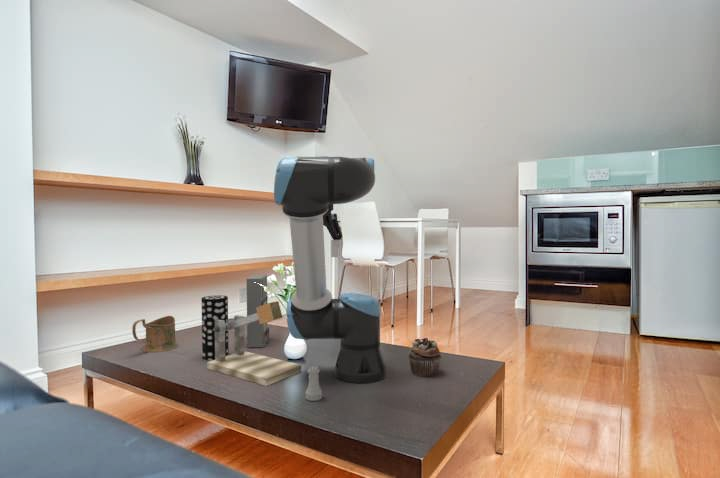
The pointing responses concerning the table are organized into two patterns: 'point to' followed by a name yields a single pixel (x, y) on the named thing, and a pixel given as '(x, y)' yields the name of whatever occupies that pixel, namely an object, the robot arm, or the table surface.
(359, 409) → the table surface
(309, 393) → the rook chess piece
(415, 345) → the cupcake
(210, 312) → the white-spotted black cylinder
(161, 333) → the mug
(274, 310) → the lever
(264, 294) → the tall grey upright block
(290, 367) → the press base
